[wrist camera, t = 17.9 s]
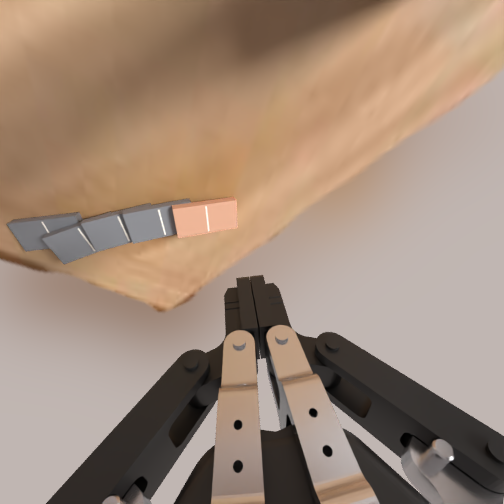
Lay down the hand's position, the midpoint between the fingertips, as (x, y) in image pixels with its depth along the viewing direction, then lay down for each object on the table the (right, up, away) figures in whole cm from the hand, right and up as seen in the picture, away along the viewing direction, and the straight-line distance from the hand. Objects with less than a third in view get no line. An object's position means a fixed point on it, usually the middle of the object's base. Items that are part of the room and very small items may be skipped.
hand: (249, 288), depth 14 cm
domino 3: (-16, +8, +27) cm, 32 cm away
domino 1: (-27, +6, +26) cm, 38 cm away
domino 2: (-22, +6, +27) cm, 35 cm away
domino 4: (-10, +8, +27) cm, 30 cm away
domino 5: (-3, +9, +28) cm, 29 cm away
